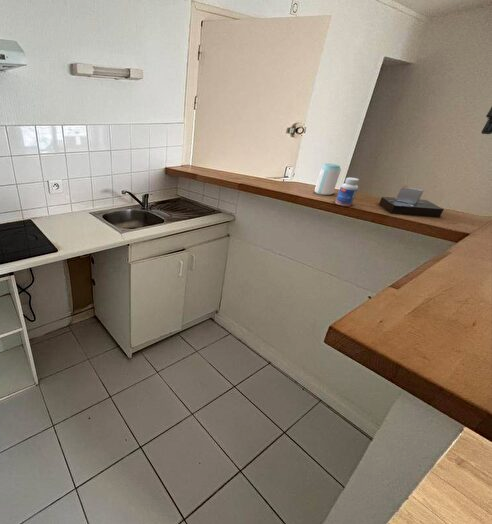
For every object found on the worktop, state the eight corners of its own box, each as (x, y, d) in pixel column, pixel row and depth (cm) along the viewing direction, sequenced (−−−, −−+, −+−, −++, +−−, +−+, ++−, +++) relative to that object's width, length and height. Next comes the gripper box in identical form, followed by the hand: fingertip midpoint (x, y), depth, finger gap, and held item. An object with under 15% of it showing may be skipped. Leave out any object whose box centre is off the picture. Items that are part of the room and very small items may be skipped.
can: (320, 190, 126) (328, 162, 120) (336, 194, 121) (345, 165, 115) (310, 192, 123) (318, 164, 117) (326, 196, 118) (336, 167, 112)
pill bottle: (333, 203, 110) (341, 178, 105) (337, 201, 113) (346, 176, 108) (349, 207, 106) (358, 181, 101) (353, 204, 109) (362, 178, 104)
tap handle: (417, 204, 99) (424, 189, 97) (414, 204, 99) (422, 189, 96) (397, 199, 104) (404, 185, 101) (395, 200, 103) (401, 185, 101)
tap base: (422, 207, 105) (426, 199, 104) (439, 217, 96) (444, 208, 94) (378, 204, 109) (382, 196, 107) (391, 213, 100) (394, 205, 98)
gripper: (540, 66, 72) (500, 135, 80) (556, 69, 78) (518, 133, 86) (498, 69, 78) (465, 133, 86) (516, 71, 83) (483, 131, 92)
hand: (491, 133), depth 86 cm, fingers open, 8 cm apart
